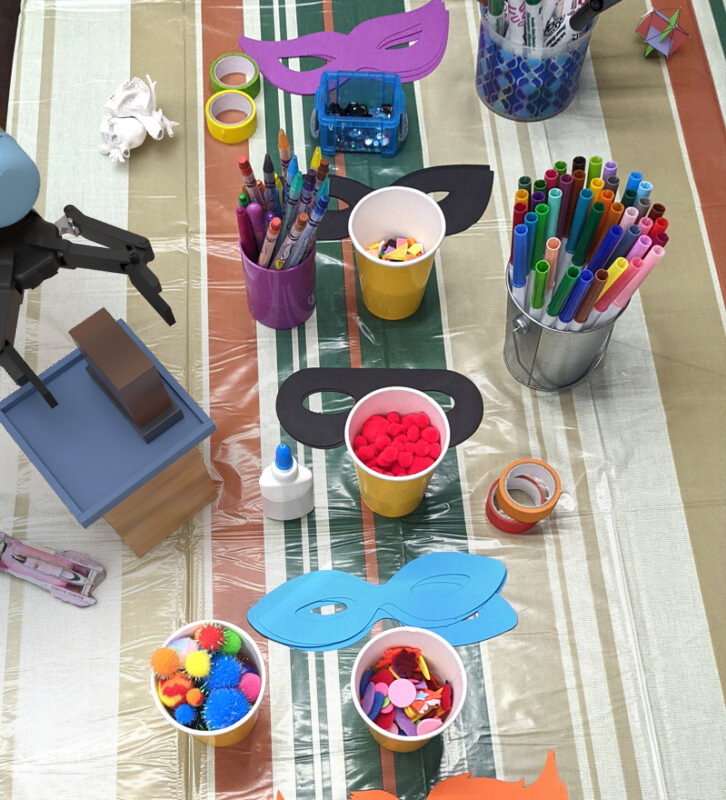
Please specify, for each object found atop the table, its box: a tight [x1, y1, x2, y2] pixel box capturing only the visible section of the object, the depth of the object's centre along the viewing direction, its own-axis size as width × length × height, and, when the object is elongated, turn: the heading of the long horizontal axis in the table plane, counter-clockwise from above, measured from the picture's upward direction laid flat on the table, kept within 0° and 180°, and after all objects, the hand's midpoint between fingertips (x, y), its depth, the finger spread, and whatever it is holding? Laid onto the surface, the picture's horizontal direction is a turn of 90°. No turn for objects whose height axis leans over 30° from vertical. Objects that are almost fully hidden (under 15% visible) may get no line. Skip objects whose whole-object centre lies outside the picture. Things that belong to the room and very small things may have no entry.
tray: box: [0, 317, 218, 530], centre depth 89 cm, size 16×16×2 cm
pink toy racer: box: [0, 530, 106, 609], centre depth 102 cm, size 13×6×4 cm, turn 72°
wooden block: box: [102, 445, 220, 559], centre depth 99 cm, size 12×12×20 cm
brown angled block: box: [67, 306, 184, 444], centre depth 85 cm, size 10×5×10 cm, turn 41°
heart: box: [97, 74, 180, 164], centre depth 125 cm, size 12×7×12 cm
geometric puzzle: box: [634, 6, 691, 59], centre depth 131 cm, size 7×7×8 cm
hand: (112, 358), depth 83 cm, fingers open, 13 cm apart
